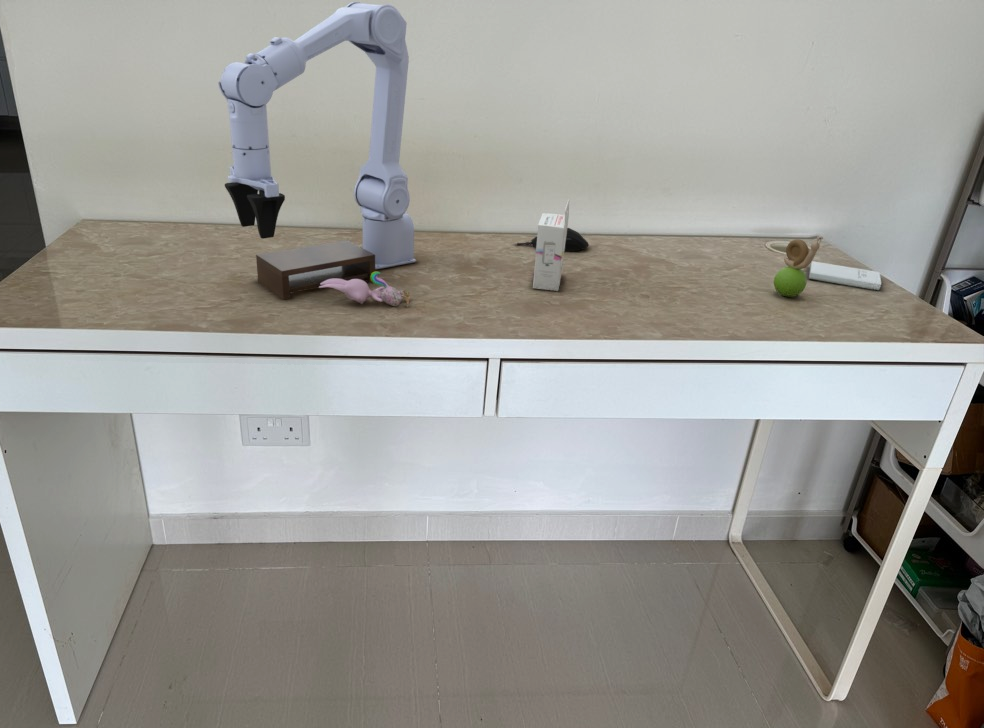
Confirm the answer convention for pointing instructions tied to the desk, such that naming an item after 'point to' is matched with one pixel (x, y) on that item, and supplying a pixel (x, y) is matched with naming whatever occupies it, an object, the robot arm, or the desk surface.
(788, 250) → the snail figurine
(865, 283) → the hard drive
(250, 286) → the desk surface
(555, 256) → the ink cartridge box
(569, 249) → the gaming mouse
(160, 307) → the desk surface
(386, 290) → the rabbit figure
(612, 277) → the desk surface
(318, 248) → the rack
